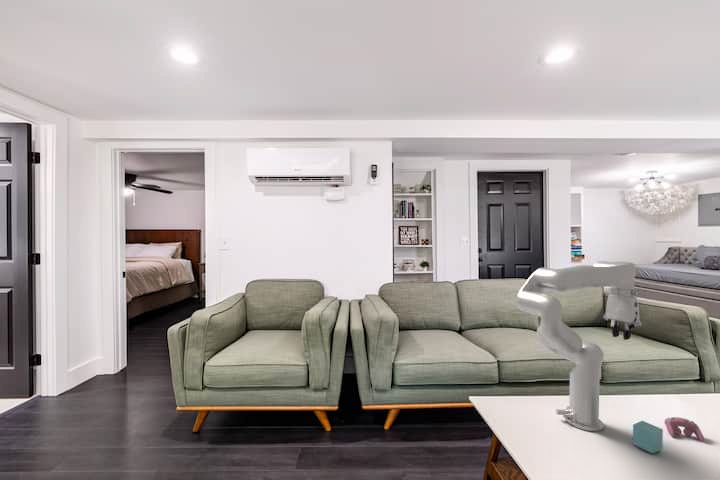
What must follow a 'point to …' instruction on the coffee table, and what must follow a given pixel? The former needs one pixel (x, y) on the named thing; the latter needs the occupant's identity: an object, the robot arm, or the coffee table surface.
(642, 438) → the teal block
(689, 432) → the video game controller
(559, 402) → the coffee table surface
